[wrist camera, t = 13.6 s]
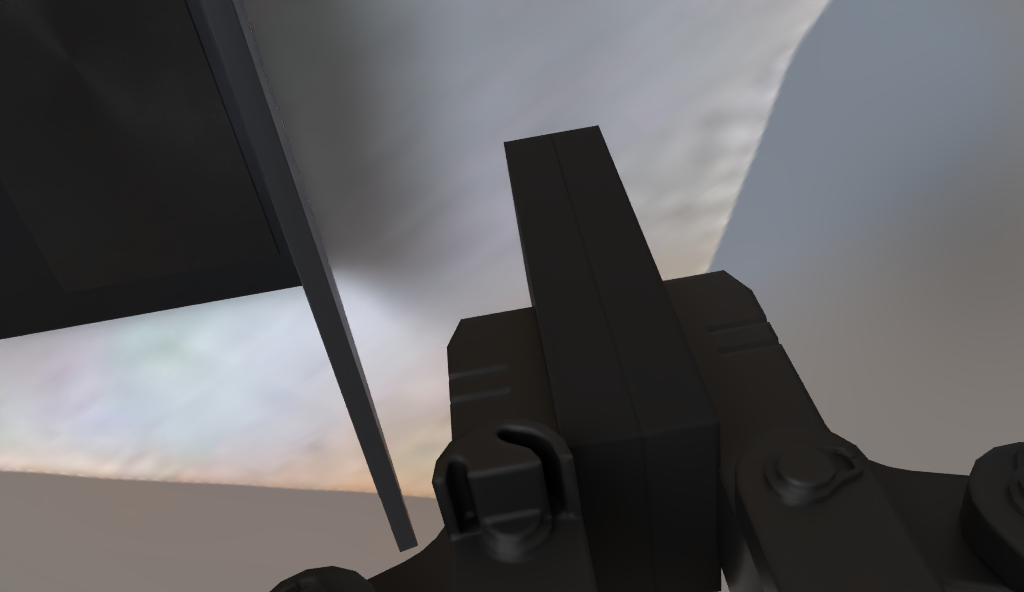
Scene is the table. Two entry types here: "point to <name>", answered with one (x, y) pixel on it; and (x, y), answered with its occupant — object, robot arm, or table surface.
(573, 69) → the table surface
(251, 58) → the laptop screen
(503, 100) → the table surface
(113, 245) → the laptop
